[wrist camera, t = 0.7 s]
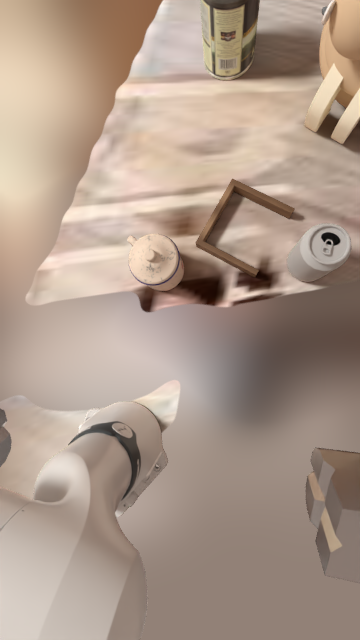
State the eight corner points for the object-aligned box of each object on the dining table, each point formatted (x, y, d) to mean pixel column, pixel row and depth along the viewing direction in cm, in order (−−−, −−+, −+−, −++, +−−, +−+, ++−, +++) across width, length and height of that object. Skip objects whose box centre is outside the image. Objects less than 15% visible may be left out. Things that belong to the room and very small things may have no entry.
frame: (254, 277, 56) (256, 275, 54) (196, 246, 58) (195, 242, 56) (291, 214, 56) (294, 208, 54) (232, 185, 58) (232, 178, 55)
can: (334, 252, 55) (365, 230, 43) (316, 289, 55) (343, 276, 43) (296, 237, 56) (316, 211, 44) (279, 273, 56) (294, 256, 44)
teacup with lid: (195, 268, 58) (188, 251, 47) (164, 301, 59) (150, 293, 47) (152, 229, 60) (135, 205, 48) (122, 263, 60) (99, 246, 49)
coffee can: (242, 23, 59) (248, -73, 45) (262, 65, 58) (275, -19, 44) (195, 48, 60) (187, -38, 47) (214, 89, 59) (212, 15, 46)
